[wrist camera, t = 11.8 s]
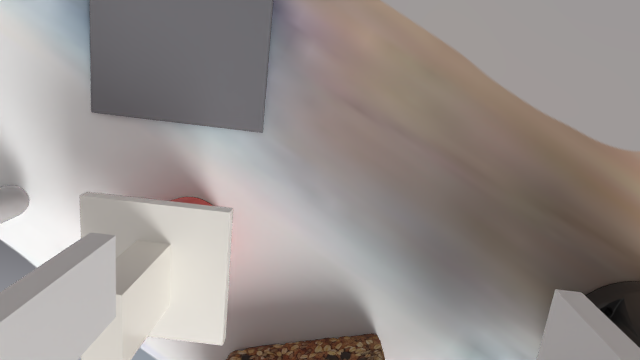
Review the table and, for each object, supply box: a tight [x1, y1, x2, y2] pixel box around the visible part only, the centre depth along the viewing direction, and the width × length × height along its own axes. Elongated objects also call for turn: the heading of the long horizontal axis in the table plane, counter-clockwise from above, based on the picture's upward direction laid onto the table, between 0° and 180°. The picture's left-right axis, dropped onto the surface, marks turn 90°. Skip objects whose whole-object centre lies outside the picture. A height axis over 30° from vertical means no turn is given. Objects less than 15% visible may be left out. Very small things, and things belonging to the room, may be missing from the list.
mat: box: [90, 0, 273, 133], centre depth 45 cm, size 18×16×1 cm
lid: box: [80, 192, 233, 360], centre depth 36 cm, size 13×13×10 cm
